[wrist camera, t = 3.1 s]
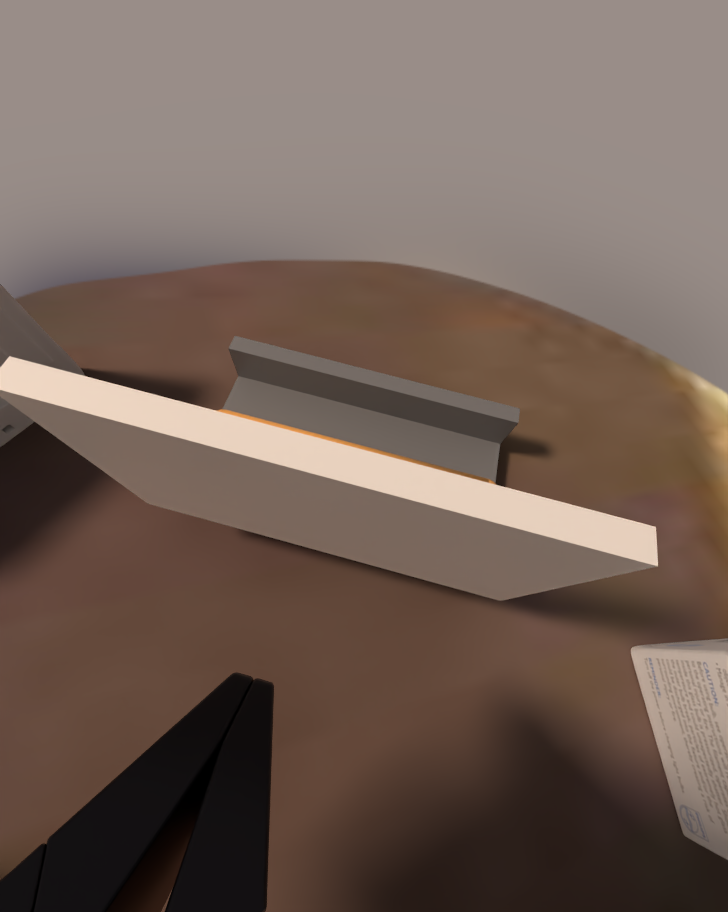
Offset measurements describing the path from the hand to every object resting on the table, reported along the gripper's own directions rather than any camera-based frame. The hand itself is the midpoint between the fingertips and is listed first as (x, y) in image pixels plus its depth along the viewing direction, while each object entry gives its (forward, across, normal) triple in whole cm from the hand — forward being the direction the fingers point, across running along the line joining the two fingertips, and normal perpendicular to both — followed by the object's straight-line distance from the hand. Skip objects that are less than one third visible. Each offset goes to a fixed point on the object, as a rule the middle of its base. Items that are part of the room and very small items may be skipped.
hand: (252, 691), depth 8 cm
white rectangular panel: (+5, 0, -2) cm, 5 cm away
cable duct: (+13, 0, 0) cm, 13 cm away
